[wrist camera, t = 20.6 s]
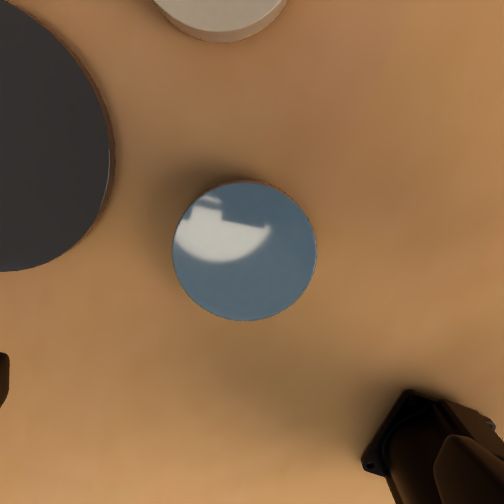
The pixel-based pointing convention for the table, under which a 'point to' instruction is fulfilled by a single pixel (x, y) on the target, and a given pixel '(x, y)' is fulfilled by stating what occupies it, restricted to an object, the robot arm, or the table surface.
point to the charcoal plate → (48, 145)
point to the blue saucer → (244, 250)
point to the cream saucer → (220, 17)
